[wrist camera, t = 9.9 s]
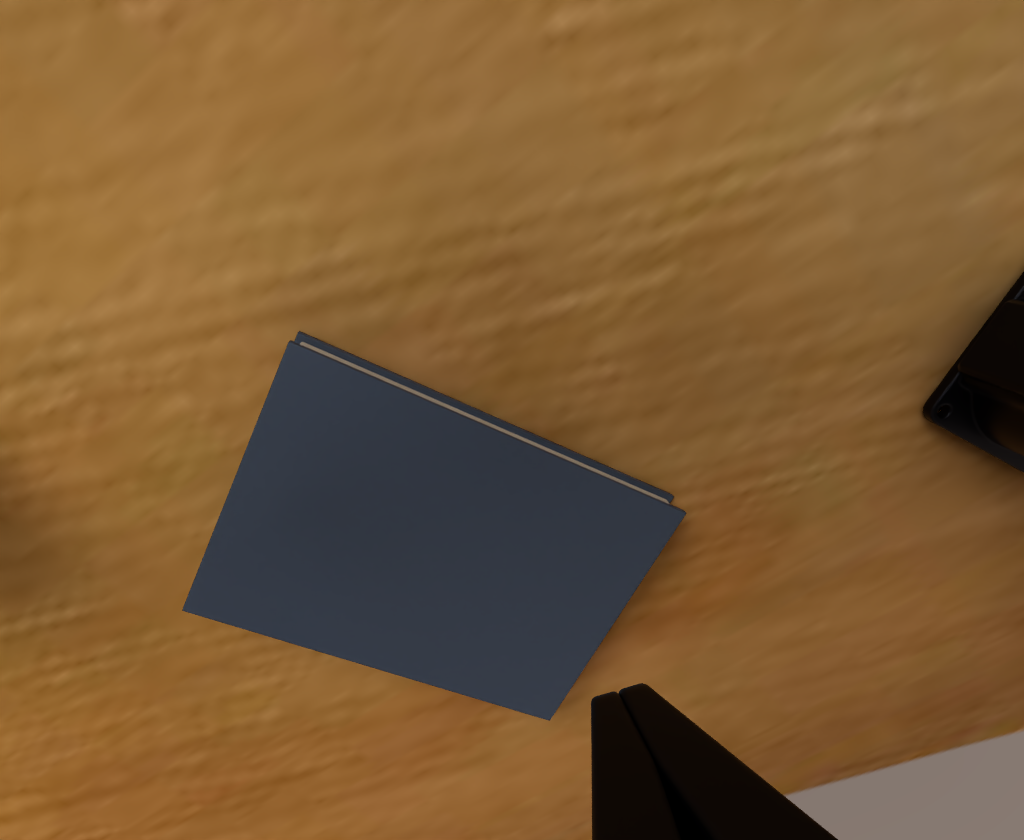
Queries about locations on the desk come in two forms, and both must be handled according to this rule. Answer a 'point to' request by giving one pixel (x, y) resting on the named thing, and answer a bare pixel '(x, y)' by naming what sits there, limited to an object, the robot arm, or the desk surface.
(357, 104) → the desk surface
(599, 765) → the robot arm
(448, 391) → the desk surface
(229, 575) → the notebook
